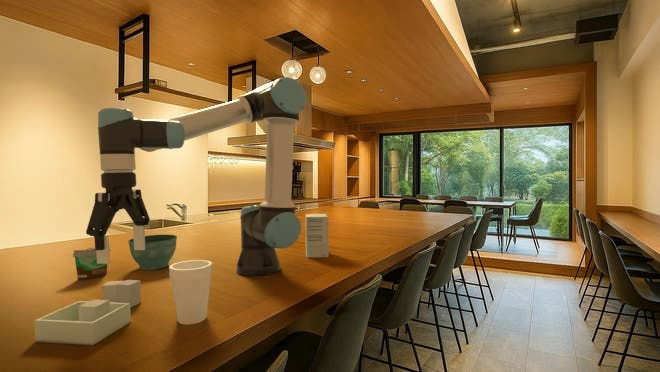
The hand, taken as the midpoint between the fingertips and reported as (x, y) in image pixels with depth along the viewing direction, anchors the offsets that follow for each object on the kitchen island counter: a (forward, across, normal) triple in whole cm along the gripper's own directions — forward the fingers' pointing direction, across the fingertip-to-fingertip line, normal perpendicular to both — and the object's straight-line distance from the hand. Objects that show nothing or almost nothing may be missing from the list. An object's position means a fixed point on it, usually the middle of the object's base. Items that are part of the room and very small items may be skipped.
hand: (123, 256), depth 90 cm
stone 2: (+14, -6, -8) cm, 17 cm away
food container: (+14, -28, -30) cm, 43 cm away
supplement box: (+16, -63, +41) cm, 77 cm away
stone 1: (+13, +12, +2) cm, 18 cm away
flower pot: (+14, -40, -17) cm, 46 cm away
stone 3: (+14, -4, -2) cm, 15 cm away
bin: (+14, +12, -1) cm, 18 cm away
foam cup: (+14, +4, +20) cm, 25 cm away
